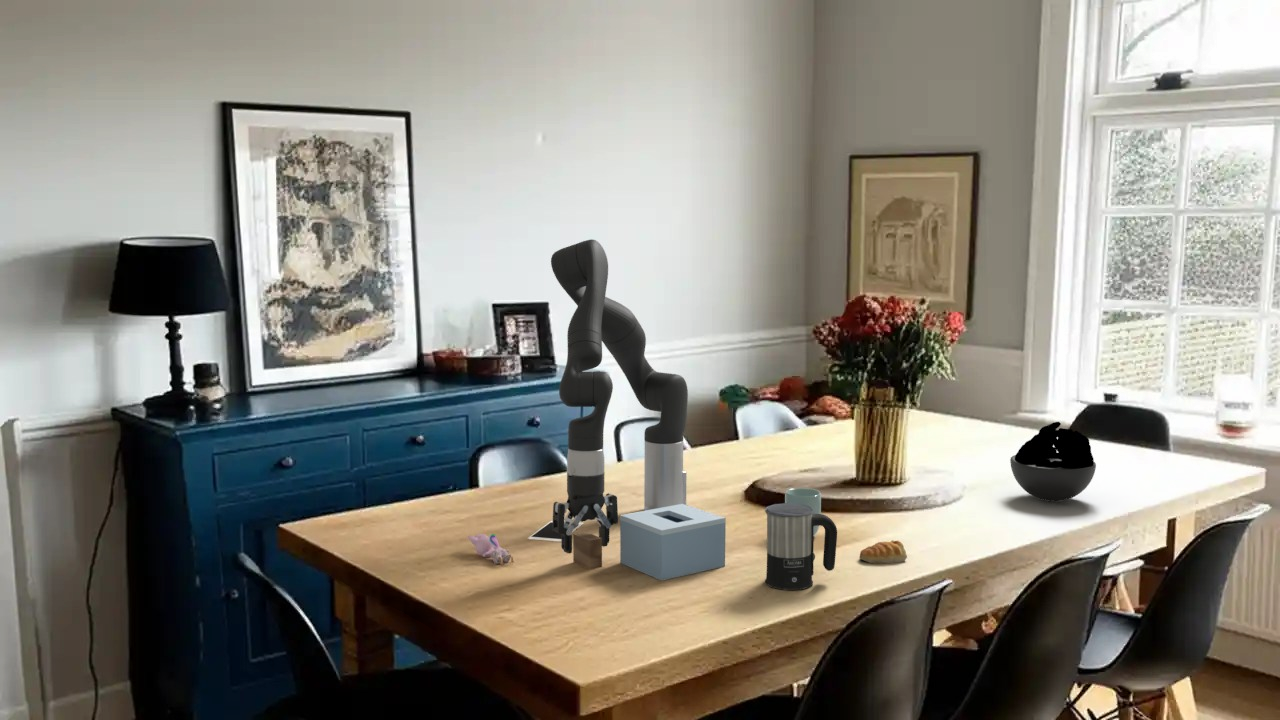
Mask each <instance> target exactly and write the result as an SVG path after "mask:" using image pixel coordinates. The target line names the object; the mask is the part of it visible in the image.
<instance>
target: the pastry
mask: <svg viewBox="0 0 1280 720" xmlns="http://www.w3.org/2000/svg"><path fill="white" fill-rule="evenodd" d="M904 546H905V545H904V544H903V543H902V542H901V541H900V540H891V541H880V542H879V541H878V542H876V543H875V544H873V545H871V546H867V547H866V548H863V549H862V550H860V554H859V559H860V560H862V561H865V562H867V563H870V564H893V563H902V562H906V560H907V559H908V556H907V555H908V554H907V552H906V549H905V547H904Z"/></svg>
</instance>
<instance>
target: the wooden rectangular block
mask: <svg viewBox="0 0 1280 720" xmlns="http://www.w3.org/2000/svg"><path fill="white" fill-rule="evenodd" d="M572 554H573V556H572V557H573V558H572V559H573V563H574V564H576V565H578V566H581V567H583V568H585V569H587V570H596V569H600V568H603V546H602V538H600V537H599V535H598V536H597V535H595V534H593V533H590V532H588V531H582V532H577V533H572Z"/></svg>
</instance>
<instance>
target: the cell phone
mask: <svg viewBox="0 0 1280 720" xmlns="http://www.w3.org/2000/svg"><path fill="white" fill-rule="evenodd" d="M552 523H553V519H552V520H550V521H549V522H548V523H546V524H545V525H544V526H542V527H540V529H538V530H536V531H535V532H534V533H532V534H531V535H530V536H528V537H527V540H528V539H529V540H530V541H539V540H543V541H542V542H551V541H553V542H554V543H561V534H560V533H558V532H555V531H553V530H552ZM581 525H582V526H583V525H584V521H583V522H581V521H580V522H579V524H578V525H577V526H576V527H575V528H574V529H573V531H572V533H571V534H570V535H573V534H574V533H575V531H577V530H578V529H580V527H582V526H581ZM576 529H577V530H576ZM553 542H552V543H553Z"/></svg>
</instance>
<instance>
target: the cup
mask: <svg viewBox="0 0 1280 720" xmlns="http://www.w3.org/2000/svg"><path fill="white" fill-rule="evenodd" d="M784 503H792V504H802V505H807V506H809V507H812V508H813V510H814V511H813V512H812V514H822V513H821V511H822V494H821V490H818V489H816V488H815V489H814V488H809V487H808V488H807V487H795V488H794V487H793V488H790V489H789V488H788V489H786V491H785V495H784ZM819 529H820V526H814V527H813V530H814V537H815V536H816V534H817V533H818V531H819Z"/></svg>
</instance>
